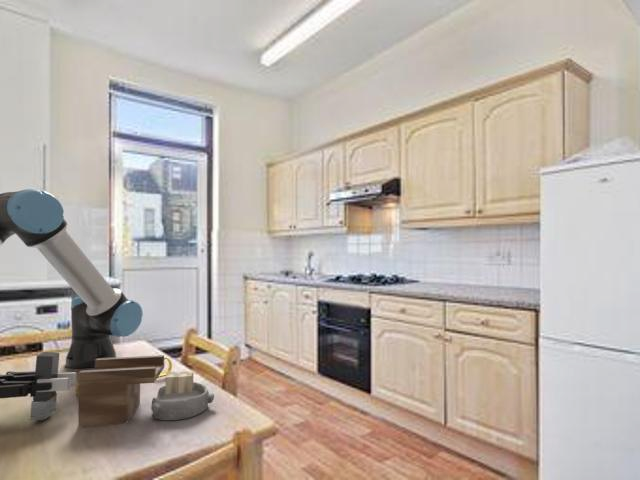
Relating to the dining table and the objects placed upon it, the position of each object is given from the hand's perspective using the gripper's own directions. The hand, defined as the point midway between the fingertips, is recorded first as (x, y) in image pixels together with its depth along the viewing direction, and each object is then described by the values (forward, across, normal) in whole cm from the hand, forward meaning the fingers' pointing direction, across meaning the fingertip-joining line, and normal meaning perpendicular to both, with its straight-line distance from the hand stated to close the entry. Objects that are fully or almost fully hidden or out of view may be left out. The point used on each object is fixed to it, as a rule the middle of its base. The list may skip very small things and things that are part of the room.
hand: (72, 381), depth 98 cm
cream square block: (+24, 0, -2) cm, 24 cm away
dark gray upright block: (-6, 0, -7) cm, 10 cm away
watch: (+15, -28, -9) cm, 33 cm away
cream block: (+21, 0, -2) cm, 21 cm away
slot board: (+12, 0, -8) cm, 14 cm away
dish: (+25, 0, -9) cm, 26 cm away
